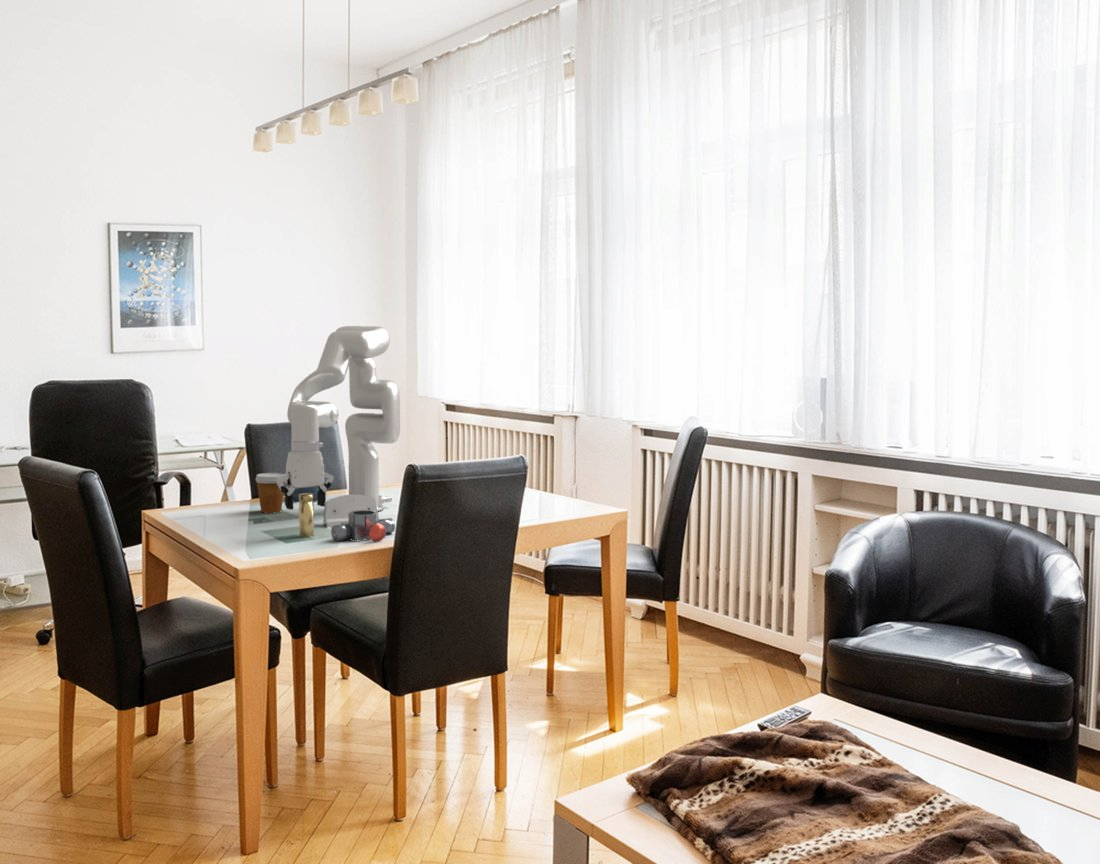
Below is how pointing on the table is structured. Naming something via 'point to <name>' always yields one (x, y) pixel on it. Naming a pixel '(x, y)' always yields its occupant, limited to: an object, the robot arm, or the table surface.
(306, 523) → the brass cylinder
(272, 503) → the disposable coffee cup
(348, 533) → the valve body
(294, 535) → the table surface
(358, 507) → the white slotted block
